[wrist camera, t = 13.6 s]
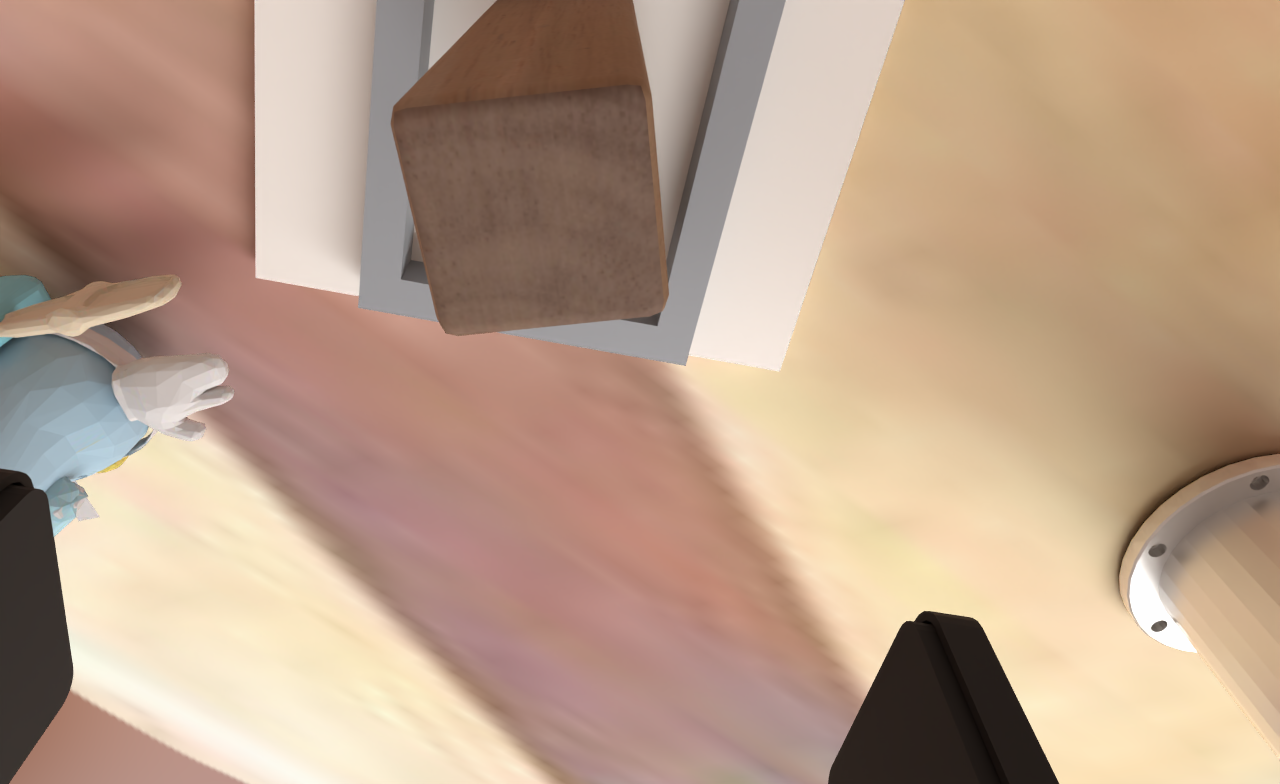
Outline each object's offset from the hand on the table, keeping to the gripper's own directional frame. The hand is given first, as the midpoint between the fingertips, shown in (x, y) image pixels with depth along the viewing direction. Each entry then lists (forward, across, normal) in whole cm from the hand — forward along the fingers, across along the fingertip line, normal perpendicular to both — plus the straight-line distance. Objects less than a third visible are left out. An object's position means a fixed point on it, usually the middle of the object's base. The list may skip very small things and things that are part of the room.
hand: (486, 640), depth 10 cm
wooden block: (+26, 0, 0) cm, 26 cm away
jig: (+27, +1, 0) cm, 27 cm away
